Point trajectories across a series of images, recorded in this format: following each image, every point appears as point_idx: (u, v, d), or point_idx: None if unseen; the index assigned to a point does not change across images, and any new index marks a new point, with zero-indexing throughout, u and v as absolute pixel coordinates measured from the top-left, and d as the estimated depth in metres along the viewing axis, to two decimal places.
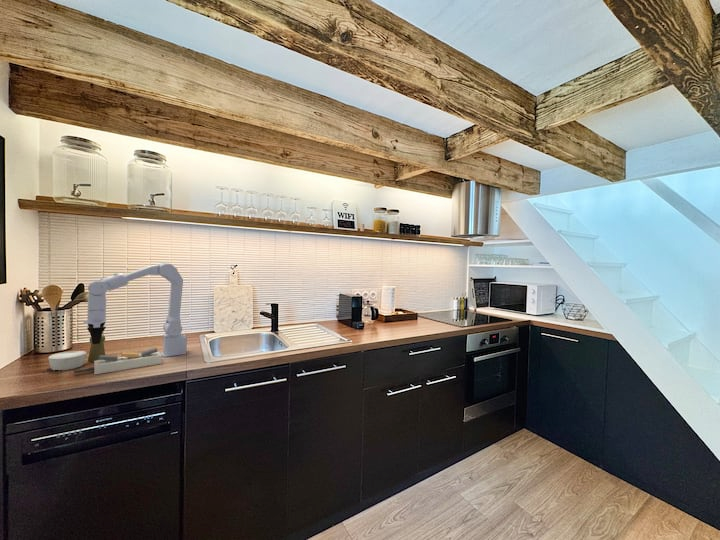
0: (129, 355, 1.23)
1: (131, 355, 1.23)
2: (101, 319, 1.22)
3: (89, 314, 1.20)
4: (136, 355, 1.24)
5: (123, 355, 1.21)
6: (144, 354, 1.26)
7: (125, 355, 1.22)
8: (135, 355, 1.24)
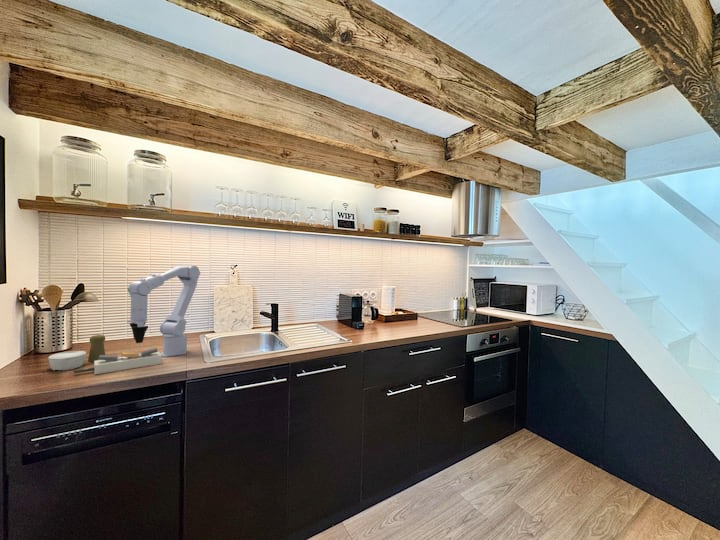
0: (129, 355, 1.23)
1: (131, 355, 1.23)
2: (143, 319, 1.25)
3: (132, 314, 1.23)
4: (136, 355, 1.24)
5: (123, 355, 1.21)
6: (144, 354, 1.26)
7: (125, 355, 1.22)
8: (135, 355, 1.24)
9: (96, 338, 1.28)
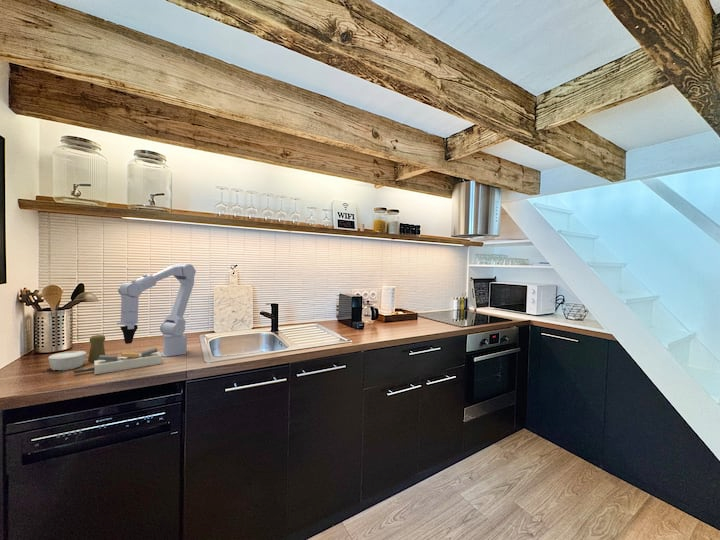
0: (129, 355, 1.23)
1: (131, 355, 1.23)
2: (134, 321, 1.23)
3: (122, 316, 1.21)
4: (136, 355, 1.24)
5: (123, 355, 1.21)
6: (144, 354, 1.26)
7: (125, 355, 1.22)
8: (135, 355, 1.24)
9: (96, 338, 1.28)
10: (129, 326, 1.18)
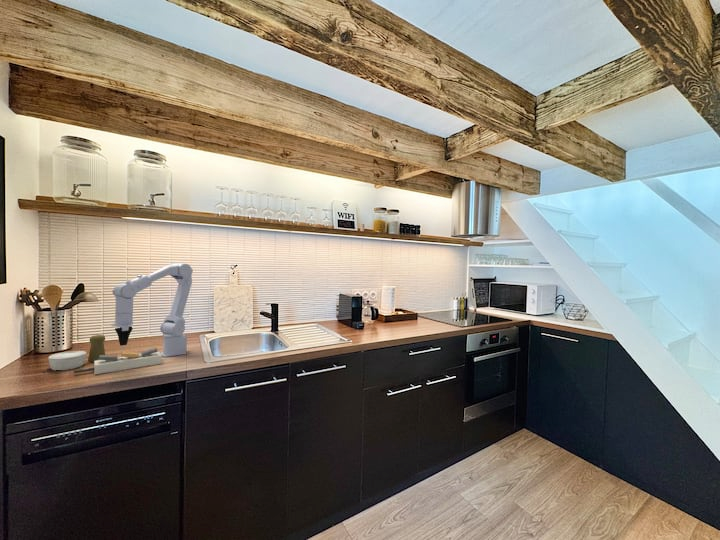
0: (129, 355, 1.23)
1: (131, 355, 1.23)
2: (128, 322, 1.21)
3: (117, 317, 1.19)
4: (136, 355, 1.24)
5: (123, 355, 1.21)
6: (144, 354, 1.26)
7: (125, 355, 1.22)
8: (135, 355, 1.24)
9: (96, 338, 1.28)
10: (123, 328, 1.17)
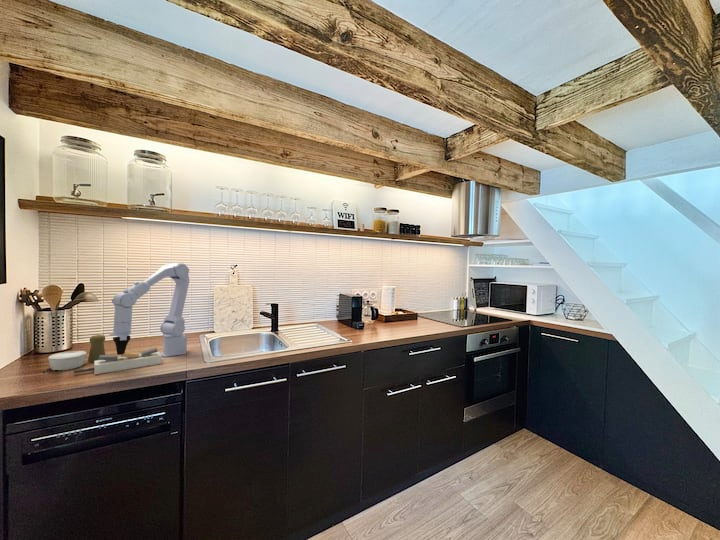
0: (129, 355, 1.23)
1: (131, 355, 1.23)
2: (127, 331, 1.21)
3: (115, 326, 1.19)
4: (136, 355, 1.24)
5: (123, 355, 1.21)
6: (144, 354, 1.26)
7: (125, 355, 1.22)
8: (135, 355, 1.24)
9: (96, 338, 1.28)
10: (121, 337, 1.16)
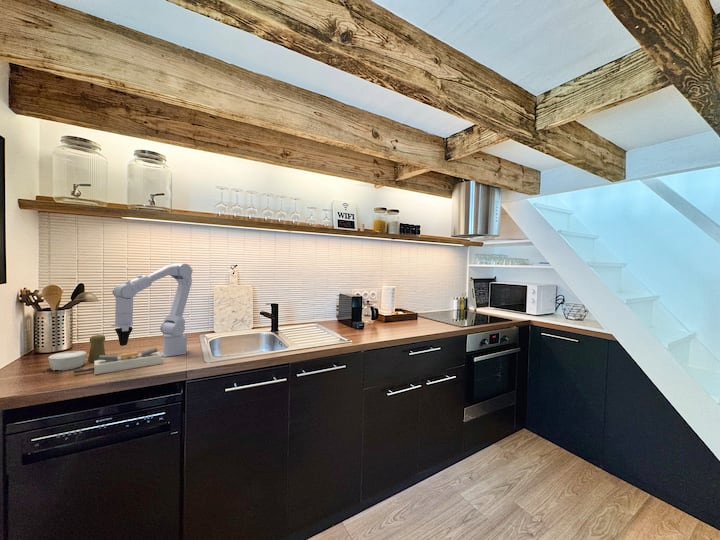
0: (128, 355, 1.23)
1: (130, 355, 1.23)
2: (128, 322, 1.21)
3: (117, 317, 1.19)
4: (135, 354, 1.24)
5: (122, 357, 1.21)
6: (144, 354, 1.26)
7: (124, 356, 1.22)
8: (134, 354, 1.24)
9: (96, 338, 1.28)
10: (123, 328, 1.17)
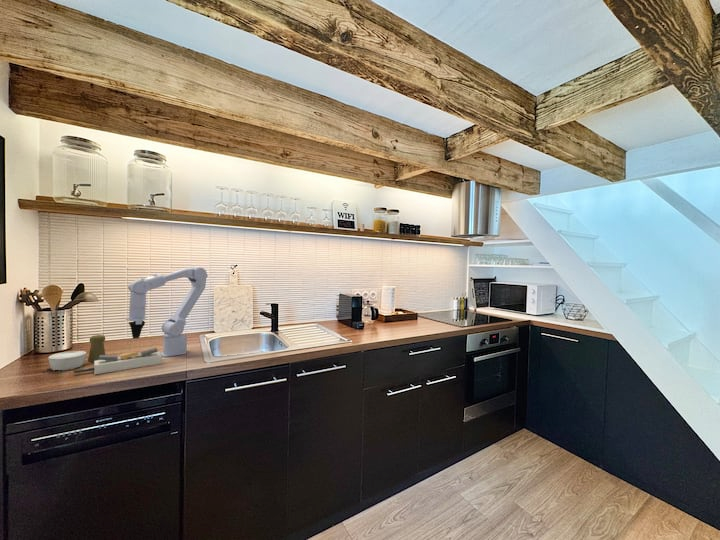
0: (128, 355, 1.23)
1: (130, 355, 1.23)
2: (141, 316, 1.29)
3: (131, 311, 1.27)
4: (135, 354, 1.24)
5: (122, 357, 1.21)
6: (144, 354, 1.26)
7: (124, 356, 1.22)
8: (134, 354, 1.24)
9: (96, 338, 1.28)
10: (137, 321, 1.24)
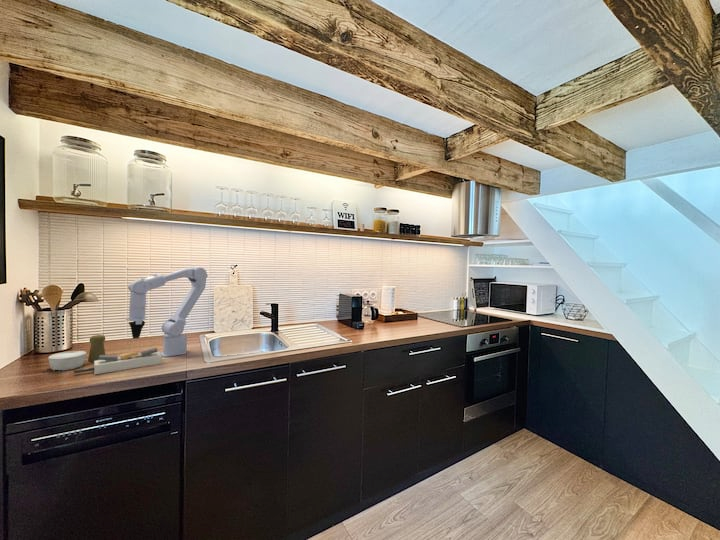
0: (128, 355, 1.22)
1: (130, 355, 1.23)
2: (141, 316, 1.29)
3: (131, 311, 1.27)
4: (135, 354, 1.24)
5: (122, 357, 1.21)
6: (144, 354, 1.26)
7: (124, 356, 1.22)
8: (134, 354, 1.24)
9: (96, 338, 1.28)
10: (137, 321, 1.24)
